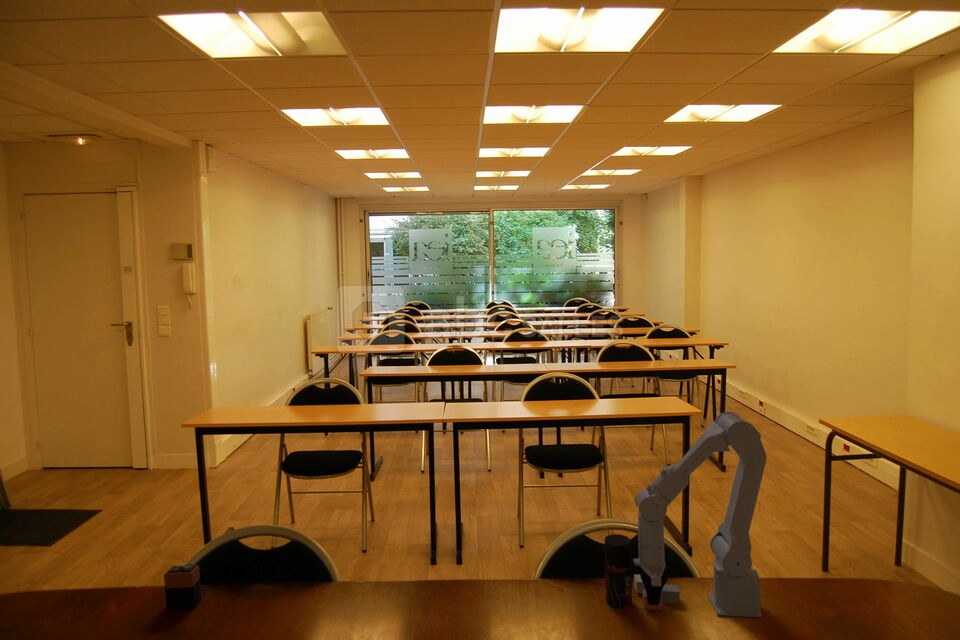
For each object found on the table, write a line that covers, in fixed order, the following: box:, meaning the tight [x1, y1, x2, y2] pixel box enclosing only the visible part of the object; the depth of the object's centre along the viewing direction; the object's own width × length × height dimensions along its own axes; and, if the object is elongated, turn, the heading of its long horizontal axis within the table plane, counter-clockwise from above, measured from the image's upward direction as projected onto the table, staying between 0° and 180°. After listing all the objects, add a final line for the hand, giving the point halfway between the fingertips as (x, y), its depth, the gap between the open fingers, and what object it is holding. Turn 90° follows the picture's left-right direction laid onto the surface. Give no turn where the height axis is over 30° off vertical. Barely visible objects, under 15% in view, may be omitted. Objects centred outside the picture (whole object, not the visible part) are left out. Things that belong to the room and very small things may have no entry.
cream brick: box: [633, 574, 645, 594], centre depth 138 cm, size 6×4×3 cm, turn 86°
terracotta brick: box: [641, 589, 663, 611], centre depth 131 cm, size 4×3×3 cm
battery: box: [163, 563, 203, 611], centre depth 139 cm, size 4×7×10 cm, turn 93°
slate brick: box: [661, 584, 681, 605], centre depth 133 cm, size 4×3×3 cm
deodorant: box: [604, 533, 633, 610], centre depth 133 cm, size 6×6×15 cm
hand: (652, 599), depth 131 cm, fingers closed on terracotta brick, 3 cm apart
